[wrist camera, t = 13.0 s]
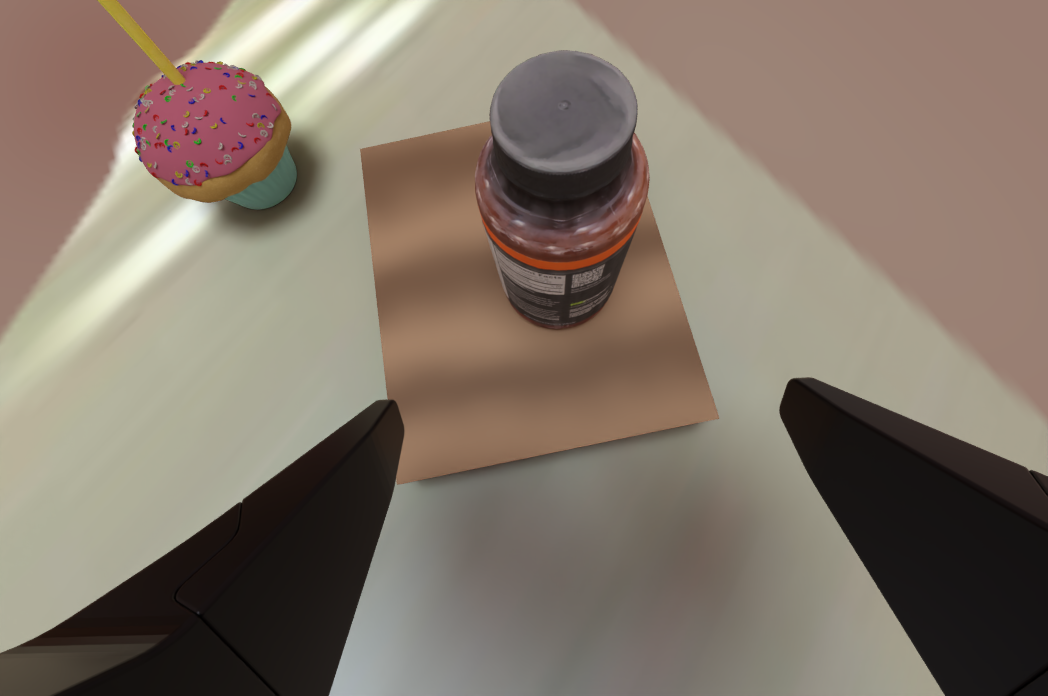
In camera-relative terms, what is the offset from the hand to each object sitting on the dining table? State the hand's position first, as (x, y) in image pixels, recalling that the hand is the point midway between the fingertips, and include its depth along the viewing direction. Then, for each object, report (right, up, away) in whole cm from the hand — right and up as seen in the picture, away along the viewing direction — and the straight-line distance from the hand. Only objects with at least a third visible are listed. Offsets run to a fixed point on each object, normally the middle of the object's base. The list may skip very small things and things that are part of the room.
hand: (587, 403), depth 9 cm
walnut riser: (-2, +5, +15) cm, 16 cm away
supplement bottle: (0, +5, +12) cm, 13 cm away
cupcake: (-20, +13, +19) cm, 30 cm away
